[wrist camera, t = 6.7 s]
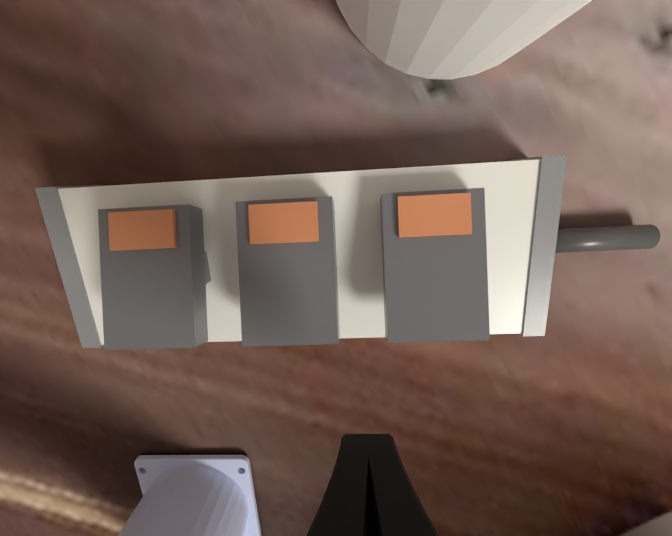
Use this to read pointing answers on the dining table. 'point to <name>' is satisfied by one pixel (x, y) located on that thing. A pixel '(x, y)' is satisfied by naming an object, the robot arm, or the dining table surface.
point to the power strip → (345, 238)
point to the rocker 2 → (287, 271)
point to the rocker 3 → (435, 265)
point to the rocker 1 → (153, 277)
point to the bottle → (451, 31)
